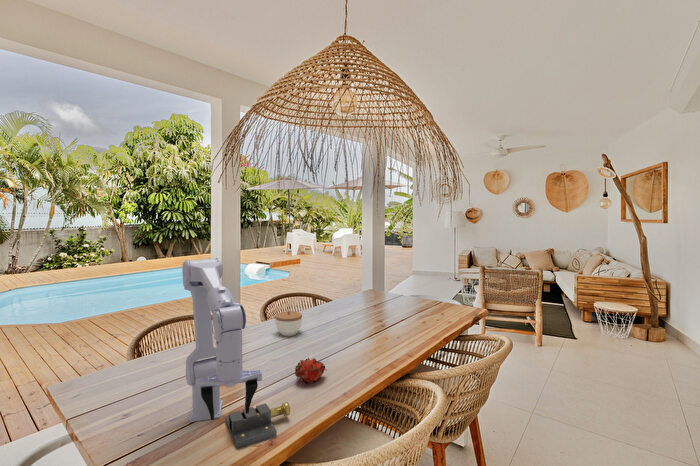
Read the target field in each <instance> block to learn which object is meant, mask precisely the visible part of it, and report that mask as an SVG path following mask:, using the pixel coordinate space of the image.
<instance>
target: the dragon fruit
mask: <svg viewBox="0 0 700 466" xmlns="http://www.w3.org/2000/svg"><path fill="white" fill-rule="evenodd" d="M325 370H326V365H324V362H322V361H317V359H316V358H314V357H313V358H312V359H311V358H309V357H308V358H305V359H304V360H303V359H300V361H299V362H297V365H295V367H294V371H295V372H294V375H295V377H296V381H299V382H300V381H302V383H303V384H305V383H306V382H307V383H309V384H311V385H312V384H313V383H314V382H318V381H319V380H321V379H322V375H323V374H324V373H325Z"/></svg>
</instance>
